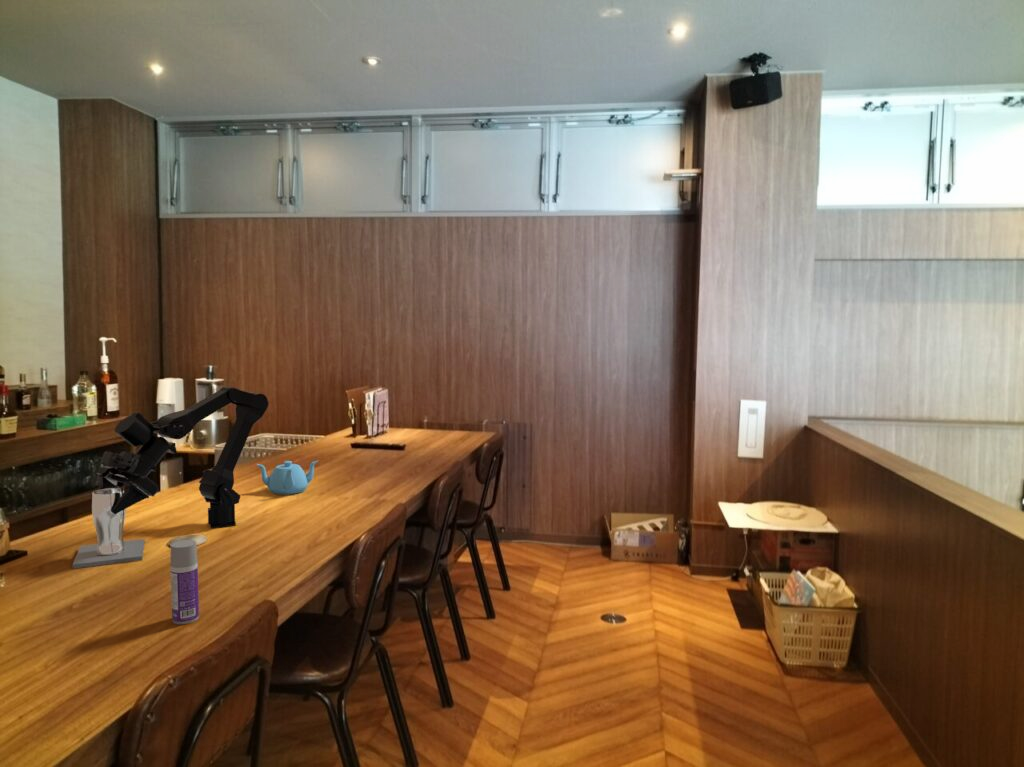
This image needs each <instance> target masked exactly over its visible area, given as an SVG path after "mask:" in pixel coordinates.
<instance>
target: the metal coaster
mask: <svg viewBox="0 0 1024 767" xmlns="http://www.w3.org/2000/svg"><path fill="white" fill-rule="evenodd" d="M182 540H194V541H196V545H198V546H201V545H203V543H204V544H205V543H207V541H208V538H207V536H206V535H202V534H188V535H187V534H186V535H181V536H177V537H174V538H171V539H169V541H168V546H169V545H170V546H171V544H172V543H174V542H177V541H182ZM170 546H169V547H170Z"/></svg>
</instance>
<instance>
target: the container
mask: <svg viewBox="0 0 1024 767" xmlns="http://www.w3.org/2000/svg"><path fill="white" fill-rule="evenodd" d="M197 547H198V546H197V545H196V541H194V540H182V541H177V542H174V543H172V544H171V547H170V591H171V592H170V595H171V598H170V599H171V620H172V623H173V624H175V625H187V624H191V623H194V622H196V621H197V620H199V618H200V611H199V610H200V607H199V606H200V605H199V604H200V603H199V566H198V551H197V550H198V549H197Z"/></svg>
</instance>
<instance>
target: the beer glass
mask: <svg viewBox="0 0 1024 767" xmlns="http://www.w3.org/2000/svg"><path fill="white" fill-rule="evenodd" d="M124 492H125V488H123V487H121V488H119V487H118V488H106V489H100V490H98V489H97V490H93V491H92V493H91V494H92V498H91V512H92V513H91V516H92V519H93V524H94V528H95V533H96V536H97V540H96V541H97V543H96V544H97V548H96V554H97V555H101V556H107V555H114V554H118V553H121V552H123V551H124V550H125V545H124V541H125V540H124V532H123V531H124V525H125V519H126V510H127V508H126V509H124V510H122V511H121V512H119V513H117V514H114V513H112V510H113V508H114V507H115V505H116V504H117V502H118V501H119V499H120V498H121V496H122V495H123V493H124Z"/></svg>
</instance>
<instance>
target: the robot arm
mask: <svg viewBox="0 0 1024 767" xmlns="http://www.w3.org/2000/svg"><path fill="white" fill-rule="evenodd" d="M269 403H270V402H269V400H268V397H267V396H266V394H263V393H260V392H259V393H258V392H249V391H244V390H242V389H238V388H236V387H232V386H223V387H221V388H220V389H219V390H217V391H216V392H214V393H212V394H210V395H209V396H208V395H207V397H205V398H203V399H201V400H200V401H198V402H196V403H195V404H193V405H190V406H189V407H187V408H186V409H183V410H179V411H178V410H177V411H175V412H171V413H168V414H165V415H162V416H160V417H159V418H158V419H157V420H156V421H152V422H149V421H148V420H147V419H146V418H144V416H143V414H141V413H140V412H135V411H134V412H133V413H131V415H129V416H127V417H125V418H123V419H122V420H120V421H119V422H118V423H117V424H116V426H115V427H114V428H115V429H114V432H115V433H116V434H117V435H118V436H119V437H121V439H123V440H124V441H126V442H127V443H128V444H129V445H131V446H132V447H138V446H139V448H138V449H137V450H136V451H135V452H128V451H123V450H122V451H121V452H120V453H117V452H112V451H106V450H105V451H104V452H103V456H102V458H101V460H100V464H102V465H104V466H100V468H98V470H97V471H96V474H97V475H96V476H97V479H98V482H99V485H98V487H97V488H98V489H97V490H100V489H106V488H123V487H124V493H123V495H122V496H121V498H120V499H119V501H118V502H117V504H116V505H115V507H114V508H113V510H112V513H114V514H117V513H119V512H121V511H122V510H124V509H126V510H127V509H128V508H130V507H132V506H134V505H135V504H138V503H140V502H142V501H144V500H146V499H147V500H148V499H149V498H150V497H155V495H156V494H157V493H158V492H159V484H158V483H156V482H154V480H152V479H151V478H149V477H148V475H150V473H151V472H156V471H157V470H158V467H157V464H158V463H159V462H160V461H161V460H162V458H164V456H165V454H167V453H170V454H175V455H176V454H177V453H178V452H177V447H176V445H177V443H176V442H171V441H168V440H167V439H166V438H168V439H173V440H180V439H181V440H182V439H184V438H185V436H187V435H189V433H190V432H191V431H193V430H194V428H195V426H196V425H197V424H199V423H200V422H201V421H202V420H204V419H206V418H208V417H210V416H211V415H213V414H214V413H216V412H218V411H219V410H221V409H222V408H225V407H226V406H227V405H229V404H233V405H236V406H235V417H236V418H235V422H234V423H233V426H232V428H231V430H230V433H229V434H228V437H227V439H226V442H225V443H224V446H223V448H222V450H221V453H220V455H219V457H218V459H217V461H216V464H215V465H214V466H213V467H212V468H211V469H205V470H204V472H203V474H202V477H201V479H200V480H199V481H198V483H199V486H198V490H199V492H200V495H201V497H203V498H204V501H205V502H206V503H209V507H208V508H207V524H208V525H209V526H210V529H214V528H215V529H216V528H223V527H233V526H236V525H237V523H236V512H235V511H236V510H235V505H236V504H239V502H240V499H241V495H240V494H239V493H238V492H237V491H235V490H234V489H233V487H234V484H235V478H234V477H235V476H234V471H235V467H236V466H237V463H238V462H239V459H240V458H241V457H240V456H241V454H242V452H243V449H244V447H245V445H246V443H247V440H248V438H249V436H250V433H251V431H252V429H253V426H254V425H255V424H256V423H257V422H258V421H259V420H261V418H263V416H264V415H265V413H266V411H267V409H268V407H269ZM156 434H158V435H159V436H158V435H156Z"/></svg>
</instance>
